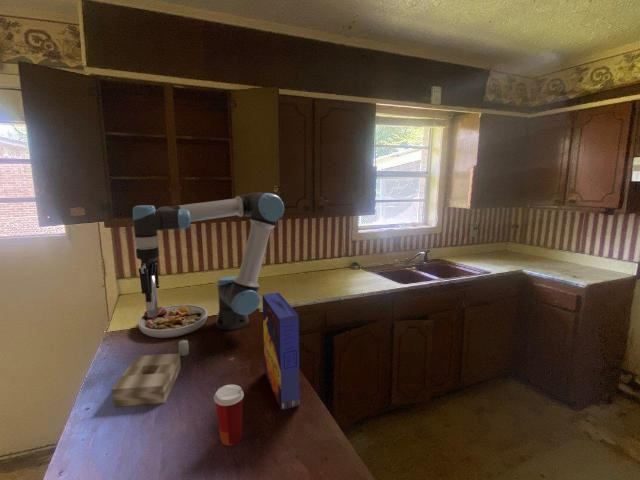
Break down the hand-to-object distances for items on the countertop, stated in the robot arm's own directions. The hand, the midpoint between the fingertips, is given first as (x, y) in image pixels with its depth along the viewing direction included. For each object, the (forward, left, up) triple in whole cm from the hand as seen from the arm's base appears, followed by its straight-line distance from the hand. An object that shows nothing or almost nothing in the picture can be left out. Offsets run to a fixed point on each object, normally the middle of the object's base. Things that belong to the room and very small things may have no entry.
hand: (152, 307), depth 133 cm
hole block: (-4, +20, -21) cm, 29 cm away
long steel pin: (0, 0, -3) cm, 3 cm away
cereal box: (-48, +27, -21) cm, 59 cm away
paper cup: (-34, +48, -21) cm, 62 cm away
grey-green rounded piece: (-10, -1, -21) cm, 23 cm away
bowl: (+1, -29, -21) cm, 36 cm away
